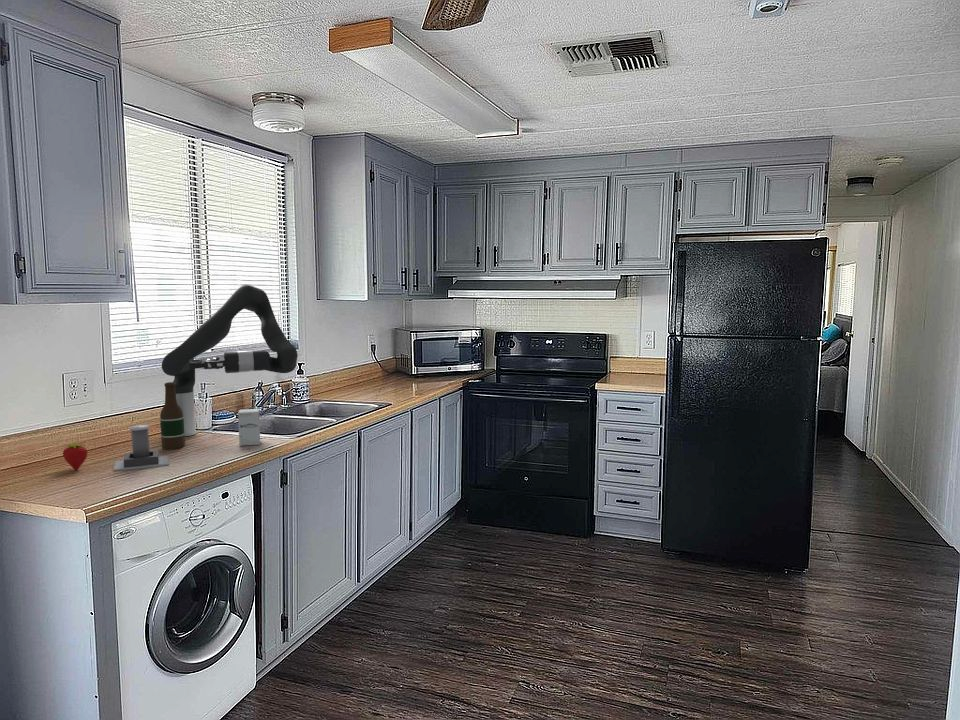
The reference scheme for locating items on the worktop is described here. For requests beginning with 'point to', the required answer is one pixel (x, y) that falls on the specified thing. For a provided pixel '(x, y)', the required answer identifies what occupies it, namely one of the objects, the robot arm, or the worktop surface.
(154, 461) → the grey recessed tray
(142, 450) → the gray flanged cylinder
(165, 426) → the beer bottle
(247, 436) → the supplement box
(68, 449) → the strawberry
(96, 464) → the worktop surface
